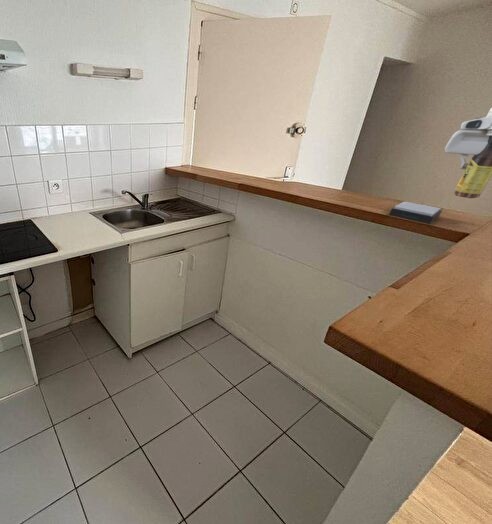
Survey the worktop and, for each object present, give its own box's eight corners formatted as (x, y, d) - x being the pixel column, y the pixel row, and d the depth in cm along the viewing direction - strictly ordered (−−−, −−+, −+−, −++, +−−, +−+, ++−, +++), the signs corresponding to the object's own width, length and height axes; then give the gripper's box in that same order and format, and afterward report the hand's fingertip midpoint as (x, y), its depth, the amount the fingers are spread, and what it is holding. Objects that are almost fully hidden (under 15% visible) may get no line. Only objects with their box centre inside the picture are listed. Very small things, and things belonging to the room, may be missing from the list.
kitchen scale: (438, 217, 97) (443, 208, 96) (429, 224, 91) (434, 214, 90) (399, 209, 105) (403, 200, 103) (388, 215, 99) (392, 206, 98)
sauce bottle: (455, 192, 99) (488, 130, 89) (481, 196, 94) (518, 131, 84) (449, 196, 95) (482, 131, 86) (475, 200, 91) (513, 132, 81)
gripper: (562, 123, 78) (530, 174, 85) (460, 121, 93) (439, 165, 99) (561, 124, 75) (528, 177, 82) (455, 122, 90) (434, 167, 96)
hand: (479, 170), depth 91 cm, fingers closed on sauce bottle, 6 cm apart
